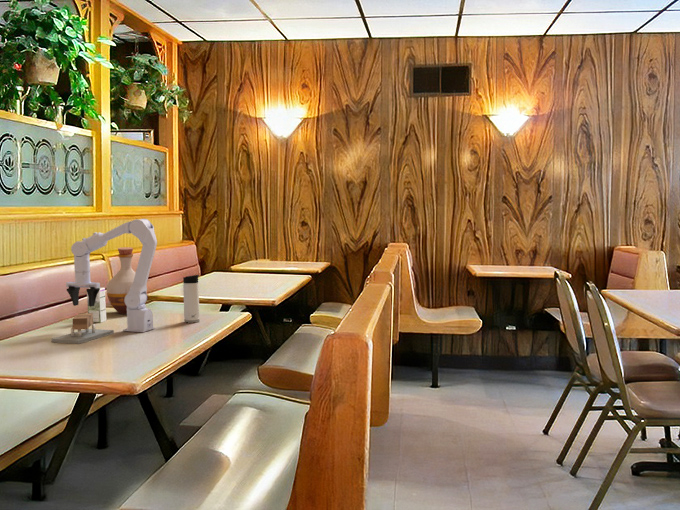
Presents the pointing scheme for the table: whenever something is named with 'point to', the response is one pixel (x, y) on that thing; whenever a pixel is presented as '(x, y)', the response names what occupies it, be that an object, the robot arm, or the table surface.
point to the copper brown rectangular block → (82, 321)
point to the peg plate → (82, 335)
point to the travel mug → (191, 298)
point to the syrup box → (98, 307)
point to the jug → (121, 281)
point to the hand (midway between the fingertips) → (83, 305)
